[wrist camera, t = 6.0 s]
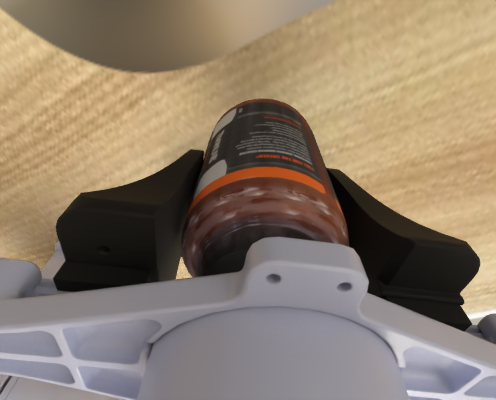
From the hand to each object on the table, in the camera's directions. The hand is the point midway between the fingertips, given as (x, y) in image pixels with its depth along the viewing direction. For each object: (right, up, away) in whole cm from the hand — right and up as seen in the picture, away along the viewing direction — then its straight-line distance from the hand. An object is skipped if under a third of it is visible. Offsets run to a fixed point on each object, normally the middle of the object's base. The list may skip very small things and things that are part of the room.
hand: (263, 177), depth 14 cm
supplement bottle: (0, +2, +3) cm, 4 cm away
